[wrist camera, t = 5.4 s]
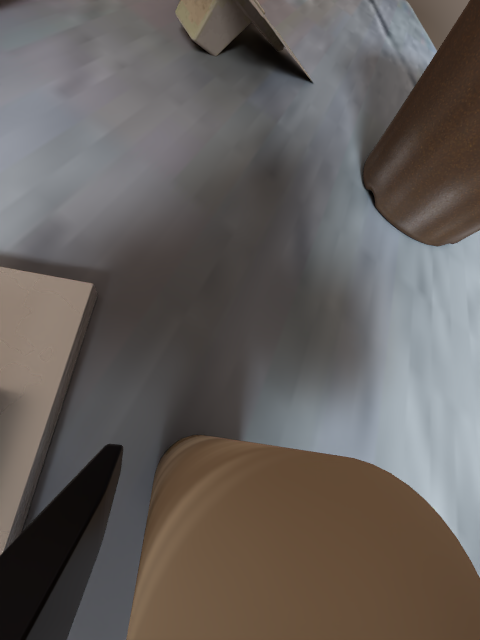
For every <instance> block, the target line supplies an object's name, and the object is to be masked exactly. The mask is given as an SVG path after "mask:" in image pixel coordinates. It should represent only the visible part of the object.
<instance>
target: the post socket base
mask: <svg viewBox="0 0 480 640" xmlns="http://www.w3.org/2000/svg"><path fill="white" fill-rule="evenodd" d="M97 296H98V293H97V291H96V289H95V287H94V285H93V284H92V283H87V282H81V281H76V280H70V279H65V278H59V277H54V276H48V275H43V274H37V273H32V272H26V271H21V270H15V269H10V268H4V267H0V555H1V554H2V553H3V552H4V551H5V550H6V549H7V548H8V547H9V546H10V544H11V543H12V542H13V541H14V540H15V539H16V538H17V537H18V536H19V535H20V534H21V532H22V529H23V526H24V523H25V520H26V517H27V514H28V510H29V507H30V504H31V501H32V498H33V495H34V492H35V489H36V486H37V482H38V479H39V476H40V473H41V470H42V467H43V464H44V461H45V457H46V454H47V451H48V448H49V445H50V442H51V439H52V436H53V433H54V429H55V426H56V423H57V420H58V417H59V414H60V411H61V408H62V405H63V401H64V398H65V395H66V392H67V389H68V386H69V383H70V380H71V377H72V373H73V370H74V367H75V364H76V361H77V358H78V355H79V352H80V348H81V345H82V342H83V339H84V336H85V333H86V330H87V327H88V324H89V320H90V317H91V314H92V311H93V308H94V305H95V302H96V299H97Z"/></svg>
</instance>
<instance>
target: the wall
mask: <svg viewBox="0 0 480 640" xmlns="http://www.w3.org/2000/svg"><path fill="white" fill-rule="evenodd" d="M175 13H176V16H177V18H178V19H179V21H180V22H181V24H182V25H183V27H184V28H185V30H186V31H187V33H188V34H189V36H190V37H191V39H192V40H193V41H194V42H195V43H197V44H198V45H199V46H201V47H202V48H203V49H205V50H206V51H207V52H208V53H210V54H211V55H213V56H217V55H218V54H219V53H220V52H221V51H222V50H223V49H224V48H225V47H226V46H227V45H228V44H229V43H230V42H231V41H232V40H233V39H234V38H235V37H236V36H237V35H238V34H239V33H240V32H241V31H243V30H244V29H245V28H246V27H247V26H248V25H249V24H250V23H251V22H252V23H253V24H254V25H255V26H256V27H257V28H258V29H259V31H260V32H261V33H262V34H263V35H264V37H265V38H266V39H267V40H268V41H269V42H270V44H271V45H272V46H273V47H274V48H275V49H276V50H277V51H278V52H281V51H282V50H283V48H284V47H285V48H286V49H287V50H288V52H289V53H290V54H291V56H292V57H293V58H294V59H295V60H296V62H297V63H298V64H299V65H300V67H301V68H302V69H303V71H304V72H305V73H306V75H307V76H308V74H307V72H306V71H305V70H304V68H303V67H302V65H301V64H300V62H299V61H298V59H297V58H296V57H295V56H294V54H293V52H292V51H291V50H290V48H289V47H288V45H287V44H286V43H285V41H284V40H283V39H282V37H281V36H280V34H279V33H278V32H277V31H276V29H275V28H274V27H273V26H272V25H271V23H270V22H269V21H268V20H267V18H266V17H265V16H264V14H265V12H264V10H263V8H262V7H261V5H260V4H259V2H258V1H257V0H180V2H179V4H178V7H177V9H176V11H175ZM308 77H309V76H308ZM309 78H310V77H309ZM310 80H311V79H310Z"/></svg>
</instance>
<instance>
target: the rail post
mask: <svg viewBox="0 0 480 640" xmlns="http://www.w3.org/2000/svg"><path fill="white" fill-rule="evenodd" d="M126 640H480V578H479V576H478V574H477V572H476V570H475V568H474V566H473V564H472V562H471V560H470V559H469V557H468V555H467V554H466V552H465V551H464V549H463V547H462V546H461V544H460V542H459V541H458V539H457V538H456V536H455V535H454V534H453V532H452V531H451V530H450V528H449V527H448V526H447V524H446V523H445V522H444V520H443V519H442V518H441V517H440V515H439V514H438V513H437V512H436V511H435V510H434V509H433V508H432V507H431V506H430V505H429V503H428V502H427V501H426V500H425V499H424V498H422V497H421V496H420V495H419V494H418V493H417V492H416V491H414V490H413V489H412V488H411V487H410V486H409V485H407V484H406V483H404V482H403V481H401V480H400V479H398V478H397V477H395V476H394V475H392V474H391V473H389V472H387V471H385V470H383V469H381V468H379V467H377V466H375V465H373V464H370V463H367V462H364V461H361V460H358V459H355V458H349V457H343V456H337V455H331V454H324V453H317V452H311V451H304V450H298V449H291V448H285V447H278V446H272V445H265V444H258V443H252V442H245V441H239V440H232V439H226V438H219V437H213V436H206V435H192V436H188V437H185V438H183V439H181V440H179V441H177V442H176V443H174V444H173V445H172V446H171V447H170V448H169V449H168V450H167V451H166V452H165V454H164V455H163V457H162V458H161V460H160V462H159V464H158V466H157V469H156V472H155V476H154V482H153V488H152V494H151V500H150V505H149V511H148V517H147V523H146V529H145V534H144V540H143V546H142V552H141V558H140V564H139V569H138V575H137V581H136V587H135V593H134V599H133V604H132V610H131V616H130V622H129V628H128V634H127V639H126Z"/></svg>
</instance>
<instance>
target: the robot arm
mask: <svg viewBox="0 0 480 640" xmlns="http://www.w3.org/2000/svg"><path fill="white" fill-rule="evenodd" d="M122 456H123V446H122V445H118V444H107V445H106V446H105V447H103V449H102V450H101V451H100V452H99V453H98V454H97V455H96V456H95V457H94V458H93V459H92V460H91V461H90V462H89V463H88V464H87V465H86V466H85V467H84V468H83V469H82V470H81V471H80V473H79V474H78V475H77V476H76V477H75V478H74V479H73V480H72V481H71V482H70V483H69V484H68V485H67V486H66V487H65V488H64V489H63V490H62V491H61V492H60V493H59V494H58V495H57V497H56V498H55V499H54V500H53V501H52V502H51V503H50V504H49V505H48V506H47V507H46V508H45V509H44V510H43V511H42V512H41V513H40V514H39V515H38V516H37V517H36V518H35V519H34V520H33V522H32V523H31V524H30V525H29V526H28V527H27V528H26V529H25V530H24V531H23V532H22V533H21V534H20V535H19V536H18V537H17V538H16V539H15V540H14V541H13V542H12V543H11V544H10V546H9V547H8V548H7V549H6V550H5V551H4V552H3V553H2V554H1V555H0V640H67V637H68V634H69V631H70V629H71V626H72V623H73V621H74V618H75V615H76V612H77V610H78V607H79V604H80V601H81V599H82V596H83V593H84V591H85V588H86V585H87V582H88V580H89V577H90V574H91V572H92V569H93V566H94V563H95V561H96V558H97V555H98V552H99V549H100V546H101V543H102V540H103V537H104V533H105V530H106V526H107V522H108V518H109V514H110V511H111V507H112V503H113V499H114V495H115V491H116V487H117V484H118V480H119V476H120V471H121V465H122Z"/></svg>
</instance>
